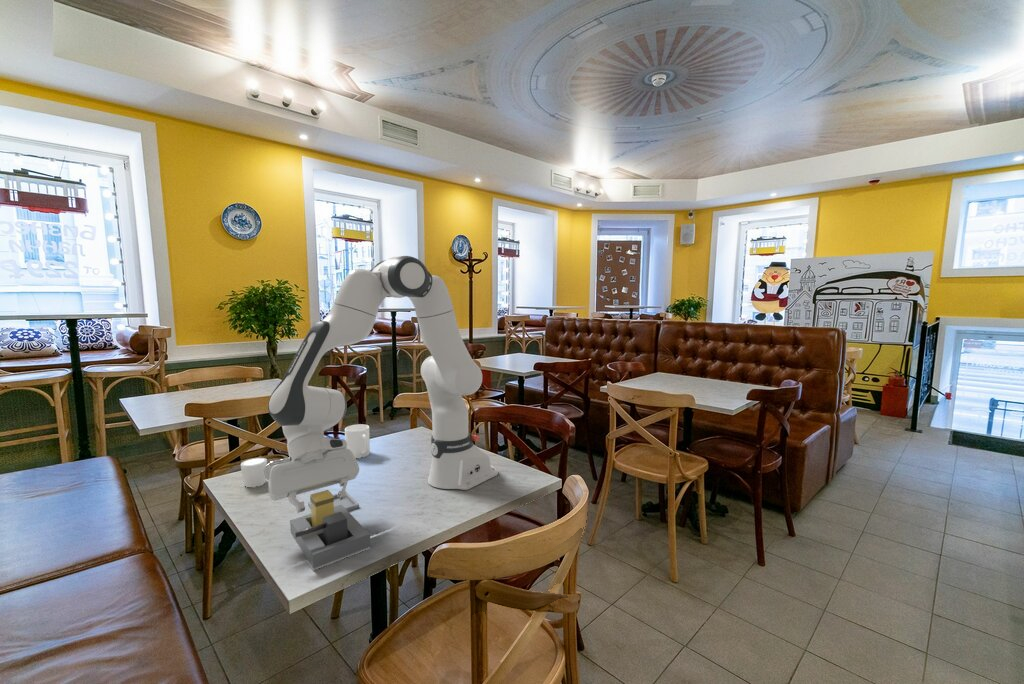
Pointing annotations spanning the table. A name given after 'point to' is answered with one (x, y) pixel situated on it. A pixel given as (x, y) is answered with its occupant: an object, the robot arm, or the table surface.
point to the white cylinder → (253, 472)
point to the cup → (358, 440)
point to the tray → (343, 502)
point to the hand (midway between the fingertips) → (322, 504)
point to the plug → (321, 506)
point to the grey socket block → (330, 537)
